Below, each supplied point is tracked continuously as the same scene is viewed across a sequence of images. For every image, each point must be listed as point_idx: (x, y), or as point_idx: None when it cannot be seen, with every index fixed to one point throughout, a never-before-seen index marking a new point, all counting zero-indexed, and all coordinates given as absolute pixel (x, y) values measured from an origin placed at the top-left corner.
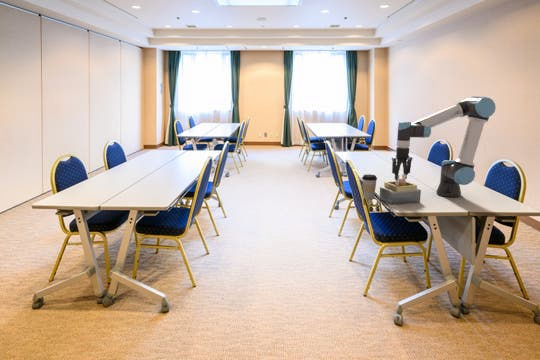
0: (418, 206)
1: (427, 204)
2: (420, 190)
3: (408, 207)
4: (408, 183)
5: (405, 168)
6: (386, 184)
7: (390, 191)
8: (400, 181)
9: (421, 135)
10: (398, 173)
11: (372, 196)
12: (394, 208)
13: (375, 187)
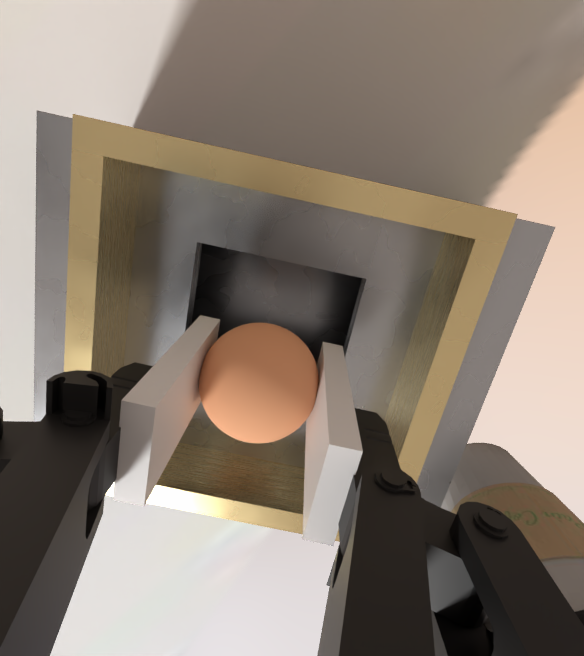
0: (268, 5)
1: (108, 20)
2: (51, 115)
3: (404, 34)
4: (98, 339)
5: (29, 564)
6: None
7: (530, 280)
8: (299, 353)
9: None
10: (363, 485)
11: (489, 459)
12: (572, 86)
13: None
